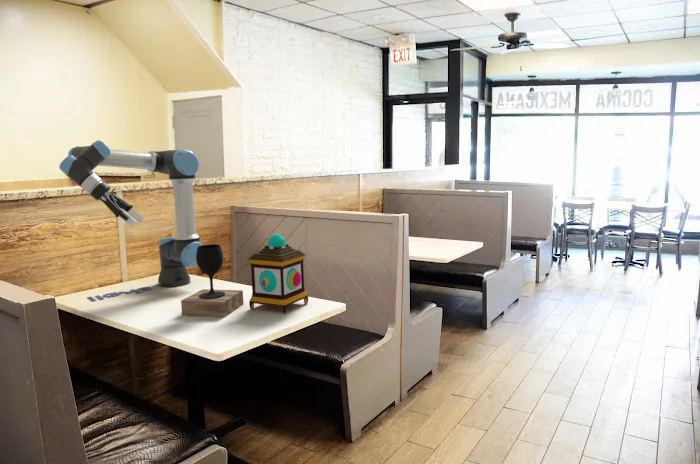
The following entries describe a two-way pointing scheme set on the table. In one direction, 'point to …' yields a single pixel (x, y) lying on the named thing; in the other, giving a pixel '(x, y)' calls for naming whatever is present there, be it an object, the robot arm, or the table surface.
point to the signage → (119, 293)
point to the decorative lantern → (277, 275)
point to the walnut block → (212, 304)
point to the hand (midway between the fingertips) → (138, 222)
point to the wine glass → (210, 266)
